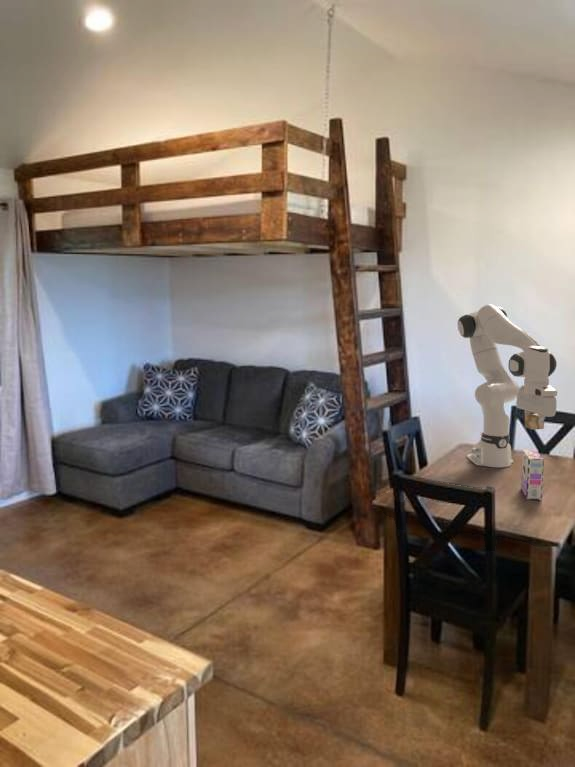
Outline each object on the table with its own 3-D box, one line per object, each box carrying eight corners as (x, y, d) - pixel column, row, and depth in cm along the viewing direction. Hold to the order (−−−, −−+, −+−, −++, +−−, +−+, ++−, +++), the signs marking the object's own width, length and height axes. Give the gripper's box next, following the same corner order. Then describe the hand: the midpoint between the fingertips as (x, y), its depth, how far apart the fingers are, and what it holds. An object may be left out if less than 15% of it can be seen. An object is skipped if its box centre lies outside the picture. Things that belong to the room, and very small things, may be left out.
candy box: (542, 500, 238) (544, 459, 236) (526, 499, 239) (528, 458, 237) (535, 489, 251) (537, 449, 249) (520, 488, 253) (522, 449, 250)
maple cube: (524, 427, 243) (525, 414, 242) (535, 426, 244) (536, 413, 243) (532, 429, 238) (532, 416, 237) (543, 428, 239) (544, 416, 239)
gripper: (513, 384, 248) (511, 418, 250) (545, 393, 228) (543, 429, 231) (527, 384, 250) (525, 417, 252) (560, 392, 230) (558, 428, 232)
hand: (534, 423), depth 241 cm, fingers closed on maple cube, 5 cm apart
